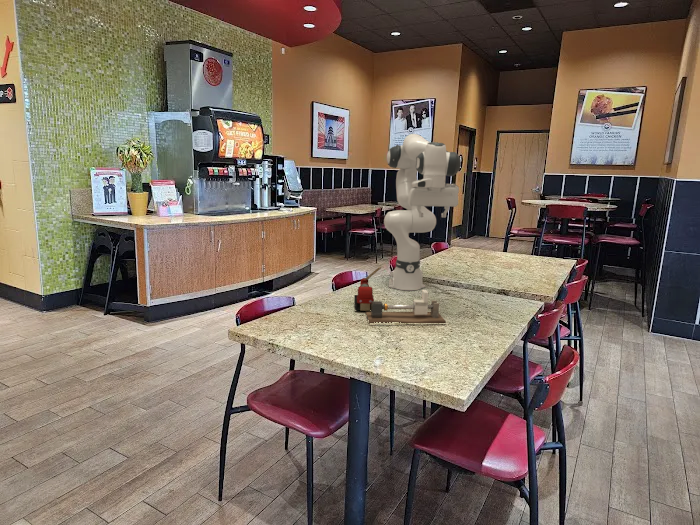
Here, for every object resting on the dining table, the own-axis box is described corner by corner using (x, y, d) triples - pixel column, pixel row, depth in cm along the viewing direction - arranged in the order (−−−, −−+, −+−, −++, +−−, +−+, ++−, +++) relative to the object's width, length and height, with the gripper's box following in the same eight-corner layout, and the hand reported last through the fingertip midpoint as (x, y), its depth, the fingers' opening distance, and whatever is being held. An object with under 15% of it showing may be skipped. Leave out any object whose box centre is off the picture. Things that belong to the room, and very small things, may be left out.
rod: (370, 315, 185) (371, 301, 184) (435, 314, 187) (436, 301, 186) (372, 318, 181) (372, 304, 180) (437, 317, 183) (438, 303, 182)
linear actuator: (365, 315, 189) (366, 297, 187) (437, 315, 192) (438, 297, 190) (369, 325, 177) (370, 306, 176) (445, 325, 180) (446, 306, 178)
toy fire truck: (354, 312, 192) (355, 271, 189) (354, 301, 208) (355, 263, 204) (381, 313, 192) (383, 272, 189) (379, 302, 208) (380, 264, 204)
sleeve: (412, 311, 186) (413, 289, 184) (424, 311, 187) (426, 289, 185) (414, 314, 182) (416, 292, 180) (427, 314, 182) (428, 292, 181)
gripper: (456, 183, 190) (454, 217, 193) (408, 182, 189) (406, 216, 191) (461, 183, 184) (459, 218, 187) (411, 182, 183) (409, 217, 185)
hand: (432, 217), depth 189 cm, fingers open, 8 cm apart
